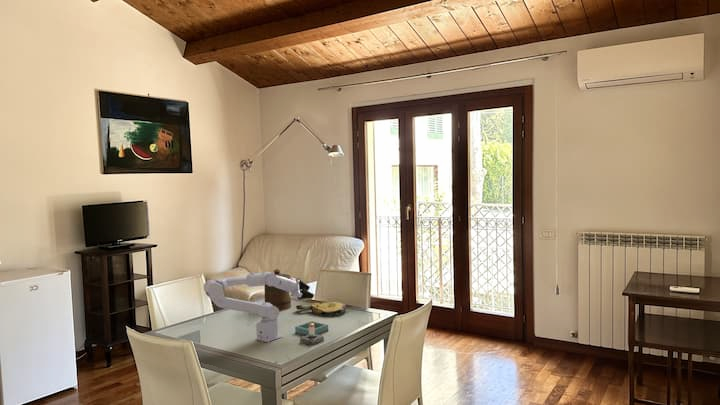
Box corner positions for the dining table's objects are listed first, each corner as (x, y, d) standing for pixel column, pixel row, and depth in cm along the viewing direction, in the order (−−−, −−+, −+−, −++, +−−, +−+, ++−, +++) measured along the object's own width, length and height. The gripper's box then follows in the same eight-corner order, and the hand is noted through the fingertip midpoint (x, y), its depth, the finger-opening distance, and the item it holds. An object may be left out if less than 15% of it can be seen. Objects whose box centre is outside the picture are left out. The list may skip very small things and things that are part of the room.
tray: (311, 337, 225) (311, 330, 225) (295, 332, 232) (295, 326, 232) (328, 330, 234) (328, 324, 233) (311, 327, 241) (311, 321, 240)
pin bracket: (312, 345, 213) (311, 340, 213) (300, 342, 218) (299, 337, 218) (323, 340, 219) (323, 336, 219) (311, 337, 224) (311, 333, 224)
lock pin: (312, 342, 217) (311, 325, 217) (307, 341, 219) (307, 324, 218) (316, 341, 219) (315, 323, 219) (312, 340, 221) (311, 322, 220)
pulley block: (301, 296, 278) (351, 299, 268) (302, 306, 279) (352, 309, 269) (290, 307, 265) (342, 310, 255) (291, 317, 266) (343, 320, 256)
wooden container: (296, 306, 281) (295, 268, 280) (276, 312, 270) (274, 272, 269) (279, 303, 291) (278, 266, 290) (259, 308, 280) (258, 270, 279)
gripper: (293, 284, 222) (318, 293, 229) (286, 270, 235) (310, 278, 241) (286, 297, 223) (311, 305, 230) (280, 282, 236) (304, 290, 242)
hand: (311, 292), depth 235 cm, fingers open, 7 cm apart
